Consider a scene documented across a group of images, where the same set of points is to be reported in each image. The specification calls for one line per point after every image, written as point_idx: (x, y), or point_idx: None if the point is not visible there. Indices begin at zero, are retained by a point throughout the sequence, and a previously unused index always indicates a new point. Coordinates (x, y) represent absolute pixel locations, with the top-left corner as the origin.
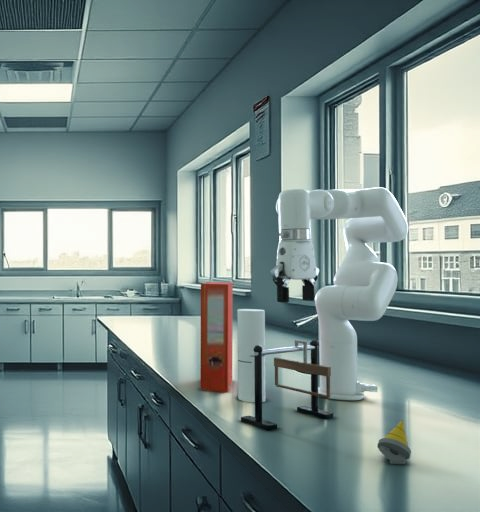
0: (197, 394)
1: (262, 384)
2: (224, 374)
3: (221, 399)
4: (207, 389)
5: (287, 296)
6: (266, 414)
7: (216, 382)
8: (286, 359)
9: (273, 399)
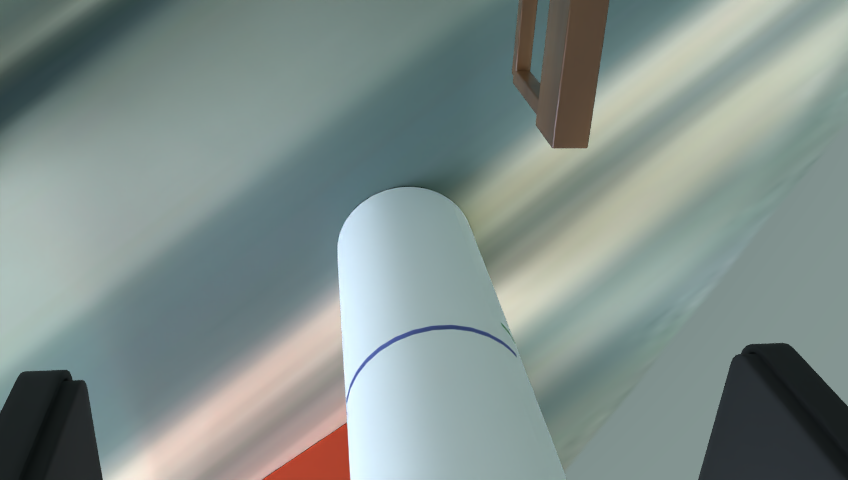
0: (551, 411)
1: (414, 230)
2: None
3: (537, 306)
4: None
5: (845, 405)
6: None
7: None
8: (581, 46)
9: (299, 200)
